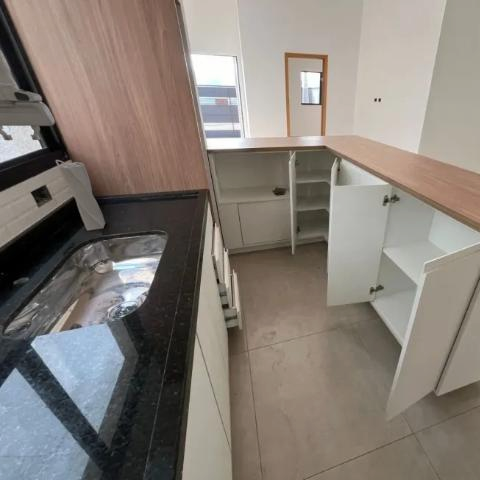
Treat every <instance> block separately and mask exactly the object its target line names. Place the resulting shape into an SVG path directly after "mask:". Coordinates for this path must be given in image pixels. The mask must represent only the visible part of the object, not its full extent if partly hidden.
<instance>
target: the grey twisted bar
mask: <svg viewBox="0 0 480 480" xmlns="http://www.w3.org/2000/svg"><path fill="white" fill-rule="evenodd" d="M59 162H60V163H62V164H64V165H63V166H61V165H60V164H59ZM55 163H56V165H57V166H58V168H59V170H60V174H61V176H62V178H63V180H64V182H65V184H66V186H67V188H68V190H69V191H70V193H71V195H72V196H73V197H74V199H75V203H76V206H77V209H78V212H79V214H80V217H81V220H82V222H83V224H84V227H85V230H86V231H93V230H95V231H96V230H102V229H104V228H105V226H106V224H107V223H106V221H105V218H104V214H103V213H102V209H101V208H100V206H99V204H98V201H97V200H96V198H95V197H94V195H93V189H92V184H91V180H90V176H89V174H88V170H87V168H86V165H85V164H84V163H82V162H79V161H74V162H68V163H66V162H65V161H62V160H60V159H55Z"/></svg>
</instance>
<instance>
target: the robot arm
mask: <svg viewBox="0 0 480 480" xmlns="http://www.w3.org/2000/svg"><path fill="white" fill-rule="evenodd" d="M42 101H43V98H42V96H41V94H39V93H35V92H32V91H27V90H24V89H20V88H19V86H18V84H17V82H16V81H15V80H14V78H13V76H12V74H11V67H10V65H9V63H8V61H7V59H6V57H5V55H4V53H3V51H2V50H1V49H0V135H1V136H2V138H3V140H4V141H13V140H14V138H13V136H12V135H11V134H10V133H9V134H8V133H7V132H5V131H4V130H3V129H4V127H9V126H11V127H30V128H31V129H32V130H34V131H33V133H32V134H30V137H31V139H32V141H39V140H41V137H40V135H39V134H40V131H41V127H50V126H54V125H55V124H56V120H55V118H54V116H53V114H52V112H51V110H50V108H49V107H48V106H47V105H46V104H45V103H44V102H42Z"/></svg>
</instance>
